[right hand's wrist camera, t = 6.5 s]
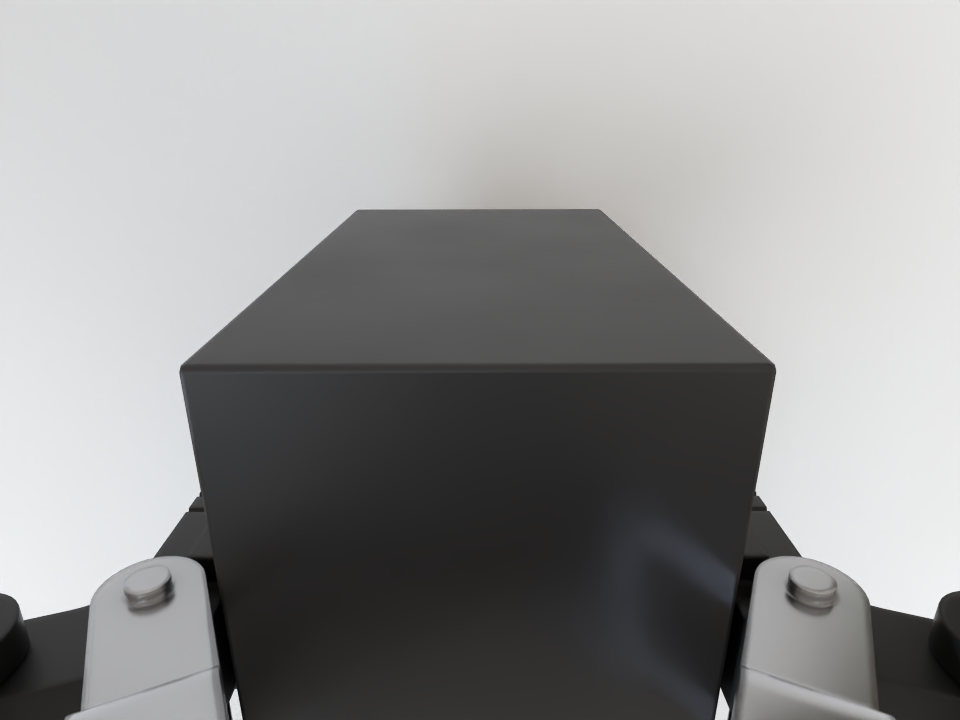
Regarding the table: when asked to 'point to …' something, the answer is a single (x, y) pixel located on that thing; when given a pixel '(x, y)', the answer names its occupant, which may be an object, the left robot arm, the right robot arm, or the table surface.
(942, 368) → the table surface
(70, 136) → the table surface
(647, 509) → the box
